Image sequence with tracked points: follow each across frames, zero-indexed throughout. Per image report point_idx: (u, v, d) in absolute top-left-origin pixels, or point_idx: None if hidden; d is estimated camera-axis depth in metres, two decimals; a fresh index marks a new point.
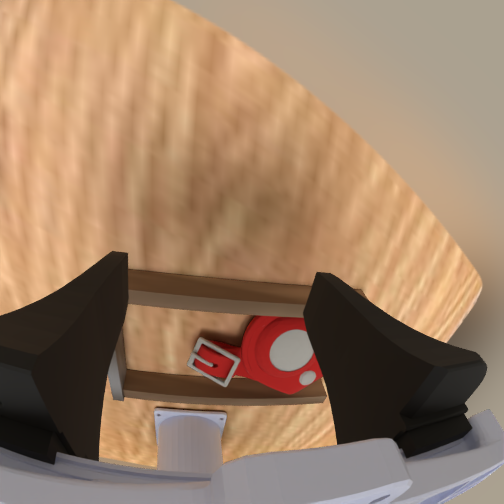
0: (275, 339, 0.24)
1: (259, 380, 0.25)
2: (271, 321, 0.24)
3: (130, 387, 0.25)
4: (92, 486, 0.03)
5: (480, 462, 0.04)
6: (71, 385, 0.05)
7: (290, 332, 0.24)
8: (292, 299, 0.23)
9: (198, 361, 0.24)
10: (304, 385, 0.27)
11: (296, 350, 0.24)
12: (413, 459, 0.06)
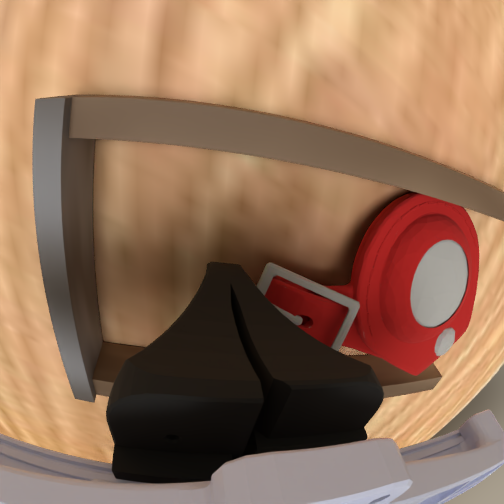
0: (421, 258, 0.11)
1: (380, 351, 0.12)
2: (409, 224, 0.12)
3: (107, 375, 0.13)
4: (92, 486, 0.03)
5: (480, 462, 0.04)
6: None
7: (442, 245, 0.11)
8: (447, 167, 0.10)
9: None
10: (438, 356, 0.14)
11: (449, 281, 0.11)
12: None
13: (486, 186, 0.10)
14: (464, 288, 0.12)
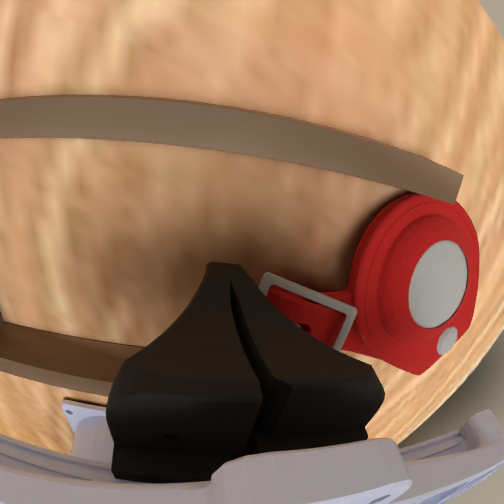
0: (418, 261, 0.11)
1: (380, 354, 0.12)
2: (405, 226, 0.12)
3: None
4: (92, 486, 0.03)
5: (480, 462, 0.04)
6: None
7: (439, 246, 0.11)
8: (294, 120, 0.09)
9: None
10: (441, 355, 0.14)
11: (448, 282, 0.11)
12: None
13: (364, 141, 0.09)
14: (464, 287, 0.12)
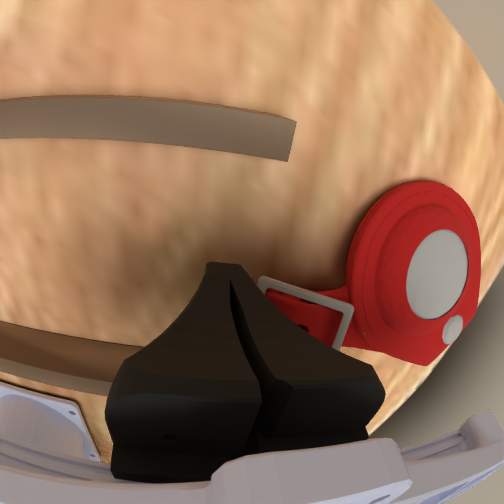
0: (413, 253, 0.11)
1: (383, 348, 0.12)
2: (398, 219, 0.12)
3: None
4: (92, 486, 0.03)
5: (480, 462, 0.04)
6: None
7: (435, 236, 0.11)
8: None
9: None
10: (447, 344, 0.13)
11: (447, 272, 0.11)
12: None
13: (129, 100, 0.07)
14: (465, 275, 0.12)
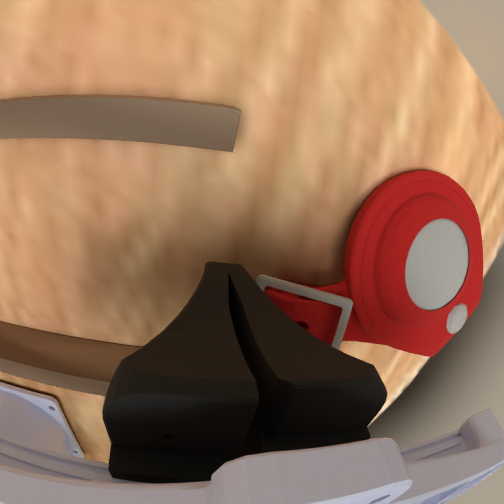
0: (411, 244, 0.11)
1: (386, 341, 0.12)
2: (394, 211, 0.11)
3: None
4: (92, 486, 0.03)
5: (480, 462, 0.04)
6: None
7: (432, 226, 0.11)
8: (27, 98, 0.07)
9: None
10: (452, 334, 0.13)
11: (447, 261, 0.11)
12: None
13: (77, 99, 0.07)
14: (466, 263, 0.12)
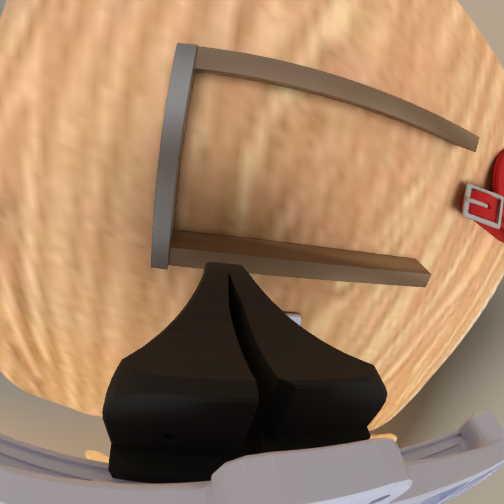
0: None
1: None
2: None
3: (180, 245, 0.19)
4: (92, 486, 0.03)
5: (480, 462, 0.04)
6: None
7: None
8: None
9: (474, 206, 0.20)
10: None
11: None
12: None
13: (436, 115, 0.16)
14: None
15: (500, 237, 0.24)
